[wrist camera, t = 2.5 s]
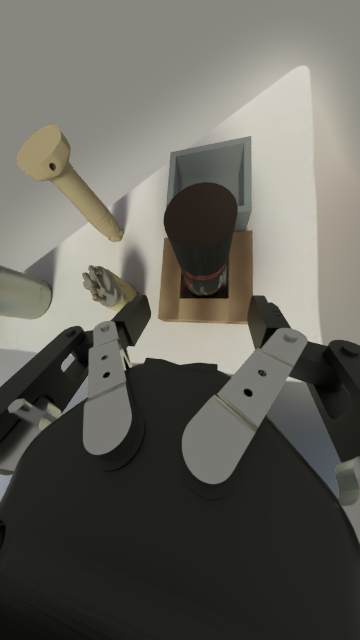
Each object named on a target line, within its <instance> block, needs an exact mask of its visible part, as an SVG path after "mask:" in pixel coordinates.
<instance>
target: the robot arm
mask: <svg viewBox="0 0 360 640" xmlns="http://www.w3.org/2000/svg"><path fill="white" fill-rule="evenodd" d="M50 301H51V290H50V287H49V285H48V284H47V283H46V282H44V281H42V280H40V279H37V278H34V277H31V276H29V275H26V274H23V273H21V272H18V271H15V270H12V269H9V268H6V267H4V266H1V265H0V316H7V317H15V318H23V319H36V318H38V317H40V316H41V315H43V314H44V313H45V311H46V310H47V308H48V307H49V304H50ZM150 317H151V310H150V306H149V302H148V298H147V296H146V295H136V296H135V297H134V299H133V300H132V301H130V302H128V303H127V304H125V306H124V307H123V308H122V309H121V310H120V312H118V313H117V314H116V316H115V317H114V318H113V319H112V320H111V321H105V322H102V323H100V324H98V325H97V326H96V327H95V328H94V330H91V331H86V332H84V330H83V329H82V327H80V326H74V327H70V328H68V329H66V330H64V331H63V332H61V333H60V334H59V335H58V336H57V337H56V338H55V339H54V340H53V341H51V342H50V343H49V344H48V345H47V346H46V347H45V348H44V349H42V350H41V351H40V352H39V353H38V354H37V355H36V356H35V357H34V358H32V359H31V360H30V361H29V362H28V363H27V364H26V365H25V366H23V367H22V368H21V369H20V370H19V371H18V372H17V373H16V374H14V375H13V376H12V377H11V378H10V379H9V380H8V381H7V382H5V383H4V384H3V385H2V386H1V387H0V474H1V475H11V474H13V476H12V478H11V480H10V483H9V485H8V487H7V489H6V492H5V494H4V496H3V498H2V500H1V502H0V640H360V346H359V345H357V344H355V343H352V342H348V341H344V340H334V341H331V342H330V343H329V345H328V346H324V345H321V344H316V343H312V342H309V341H308V340H307V338H306V336H305V335H303V334H302V333H301V332H299V331H297V330H294V329H291V327H290V326H289V324H288V322H287V321H286V319H285V318H284V316H283V314H282V313H281V311H280V309H279V308H278V307H277V306H276V305H275V304H273V303H268V302H267V300H266V298H265V296H252V297H251V300H250V305H249V309H248V314H247V322H248V326H249V329H250V333H251V336H252V340H253V344H254V347H255V351H254V352H253V353H252V355H251V356H250V357H249V358H248V359H247V360H246V362H245V363H244V364H243V365H242V366H241V367H240V368H239V370H238V371H237V372H236V373H235V374H234V375H233V377H230V376H229V375H227V374H225V373H223V372H221V371H218V370H217V364H207V363H192V364H184V365H177V364H174V363H172V362H169V361H166V360H163V359H153V358H146V360H145V362H144V363H143V364H139V365H136V366H133V367H132V365H131V361H130V357H129V354H128V351H127V347H128V346H135V344H136V343H137V341H138V339H139V337H140V335H141V334H142V332H143V330H144V328H145V327H146V325H147V323H148V321H149V320H150ZM70 353H71V354H72V355H73V356H74V358H75V360H74V361H73V362H72V363H71V365H70V366H69V367H68V368H67V370H66V371H65V372H63V371H62V370H61V364H62V362H63V361H64V360H65V359H66V358H67V357H68V356H69V354H70ZM88 374H89V375H88ZM87 376H88V397H87V398H86V399H85V400H84V401H82V402H80V403H79V404H77V405H76V406H75V407H73V408H72V409H71V410H69V411H68V412H66V413H65V414H63V415H62V416H61V414H62V412H63V411H64V409H65V408H66V406H67V405H68V403H69V402H70V400H71V399H72V398H73V396H74V395H75V393H76V392H77V390H78V389H79V387H80V386H81V384H82V383H83V381H84V380H85V379H86V377H87ZM288 376H289V377H292V378H295V379H298V380H301V381H304V382H306V383H307V386H308V388H309V390H310V392H311V395H312V397H313V399H314V402H315V404H316V406H317V408H318V410H319V413H320V415H321V417H322V420H323V422H324V424H325V426H326V429H327V431H328V433H329V435H330V438H331V440H332V442H333V444H334V447H335V449H336V451H337V454H338V456H339V458H340V460H341V463H340V464H339V465H338V466H337V467H336V470H335V478H336V482H337V485H338V490H339V498H338V499H337V498H336V496H335V495H334V493H333V492H332V491H331V489H330V488H329V487H328V485H327V484H326V483H325V482H324V481H323V480H322V478H321V477H320V476H319V475H318V474H317V473H316V472H315V470H314V469H313V468H312V467H311V466H310V465H309V463H308V462H307V461H306V460H305V459H304V458H303V457H302V456H301V454H300V453H299V452H298V451H297V450H296V449H295V447H294V446H293V445H292V444H291V443H290V442H289V441H288V439H287V438H286V437H285V436H284V435H283V434H282V433H281V431H280V430H279V429H278V428H277V427H276V426H275V424H274V423H273V422H272V421H271V420H270V419H269V418H268V416H267V415H266V413H267V412H268V410H269V408H270V407H271V405H272V403H273V401H274V400H275V398H276V396H277V394H278V393H279V391H280V389H281V388H282V386H283V384H284V382H285V381H286V379H287V377H288ZM346 389H347V390H346ZM348 392H349V393H348Z"/></svg>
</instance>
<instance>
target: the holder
mask: <svg viewBox="0 0 360 640" xmlns="http://www.w3.org/2000/svg"><path fill="white" fill-rule="evenodd" d="M184 285H185V278H184V276H183V273H182V271H181V268H180V266H179V263H178V261H177V258H176V256H175V253H174V251H173V248H172V246H171V243H170V241H169V238H164V250H163V263H162V276H161V289H160V301H159V314H158V319H160V320H163V321H167V322H197V323H226V324H248V322H247V314H248V309H249V305H250V300H251V297H252V296H253V253H252V231H240V232H234V233H233V238H232V242H231V247H230V251H229V256H228V261H227V284H226V299H184Z"/></svg>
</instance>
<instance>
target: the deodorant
mask: <svg viewBox="0 0 360 640" xmlns="http://www.w3.org/2000/svg"><path fill="white" fill-rule="evenodd" d="M237 215H238V205H237V202H236V199H235V197H234V195H233V194H232V193H231V192H230V190H228V189H227V188H225V187H224V186H222V185H219V184H216V183H211V182H202V183H196V184H193V185H191V186H188V187H186V188H184V189H183V190H181V191H180V192H178V193H177V194H176V195H175V196H174V197H173V198H172V200H171V201H170V203H169V204H168V206H167V208H166V211H165V214H164V226H165V231H166V233H167V236H168V238H169V241H170V243H171V246H172V248H173V251H174V253H175V256H176V258H177V261H178V263H179V266H180V268H181V271H182V273H183V276H184V278H185V280H186V283H187V285H188V288H189V290H190V292H191V294H192V295H193V296H194V297H196V298H197V299H212V298H213V297H215V296H216V295H217V294H218V293H219V292H220V290H221V287H222V283H223V279H224V274H225V270H226V265H227V261H228V256H229V251H230V247H231V242H232V238H233V233H234V229H235V224H236V220H237Z"/></svg>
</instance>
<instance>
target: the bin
mask: <svg viewBox="0 0 360 640" xmlns="http://www.w3.org/2000/svg"><path fill="white" fill-rule="evenodd" d="M202 182H211V183H216V184H219V185H222V186H224V187H225V188H227V189H228V190H230V192H231V193H232V194H233V195H234V197H235V199H236V202H237V205H238V215H237V220H236V224H235V229H234V232H240V231H245V229H246V226H247V223H248V220H249V217H250V214H251V136H249V137H245V138H240V139H235V140H230V141H225V142H220V143H215V144H210V145H205V146H200V147H195V148H190V149H186V150H181V151H176V152H171V156H170V168H169V181H168V194H167V206H168V204H169V203H170V201H171V200H172V198H173V197H174V196H175V195H176V194H177V193H178V192H180V191H181V190H183V189H184V188H186V187H188V186H191V185H193V184H196V183H202ZM166 208H167V207H166Z"/></svg>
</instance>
